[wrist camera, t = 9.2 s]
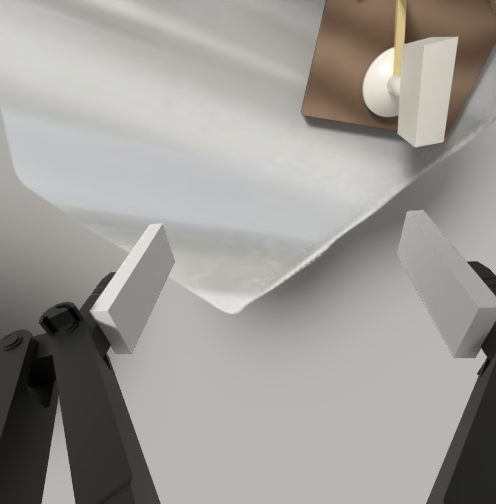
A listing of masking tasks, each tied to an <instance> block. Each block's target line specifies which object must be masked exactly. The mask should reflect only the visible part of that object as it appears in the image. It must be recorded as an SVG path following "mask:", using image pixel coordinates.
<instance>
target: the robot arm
mask: <svg viewBox="0 0 496 504" xmlns="http://www.w3.org/2000/svg"><path fill="white" fill-rule="evenodd" d="M397 255H398V257H399V259H400V261H401V263H402V264H403V266H404V268H405V270H406V272H407V274H408V275H409V277H410V279H411V281H412V283H413V285H414V286H415V288H416V290H417V292H418V294H419V296H420V297H421V299H422V301H423V303H424V305H425V306H426V308H427V310H428V312H429V314H430V316H431V317H432V319H433V321H434V323H435V325H436V327H437V329H438V330H439V332H440V334H441V336H442V338H443V340H444V341H445V343H446V345H447V347H448V349H449V350H450V352H451V354H452V356H453V357H454V358H476V356H477V354H478V353H479V351H480V349H481V348H482V350H483V351H484V353H485V354H486V356H487V359H486V361H485V362H484V364H483V365H482V367H481V368H480V370H479V372H478V373H477V374H478V375H479V376H478V379H477V382H476V384H475V386H474V389H473V391H472V393H471V396H470V399H469V401H468V403H467V406H466V408H465V410H464V413H463V415H462V418H461V420H460V423H459V425H458V428H457V430H456V432H455V435H454V437H453V440H452V442H451V445H450V447H449V450H448V452H447V454H446V457H445V459H444V462H443V464H442V467H441V469H440V471H439V474H438V476H437V479H436V481H435V484H434V486H433V488H432V491H431V493H430V496H429V498H428V501H427V503H426V504H496V276H495V274H494V273H493V272H492V271H491V270H490V269H489V268H487V267H485V266H484V265H482V264H481V263H479V262H477V261H472V262H466V260H465V259H464V258H463V257H462V256H461V254H460V253H459V252H458V251H457V250H456V248H455V247H454V246H453V245H452V244H451V243H450V242H449V240H448V239H447V238H446V237H445V236H444V235H443V233H442V232H441V231H440V229H439V228H438V227H437V226H436V225H435V223H434V222H433V221H432V220H431V219H430V218H429V216H428V215H427V214H426V213H425V212H424V210H418V211H407V214H406V219H405V222H404V226H403V231H402V235H401V239H400V243H399V247H398V252H397ZM174 263H175V260H174V257H173V254H172V251H171V248H170V244H169V241H168V238H167V235H166V232H165V229H164V226H163V223H162V224H150V225H149V226H148V228H147V229H146V231H145V232H144V234H143V235H142V236H141V238H140V239H139V241H138V242H137V244H136V245H135V246H134V248H133V249H132V251H131V252H130V254H129V255H128V257H127V258H126V259H125V261H124V262H123V264H122V265H121V267H120V268H119V270H118V271H117V272H111V273H110V274H108V275H107V276H106V277H105V278H103V279H102V280H101V282H100V283H99V284H98V286H97V287H96V289H95V290H94V291H93V293H92V295H90V296H89V298H88V299H87V301H86V302H85V303H84V305H83V306H82V307H81V309H80V310H78V309H77V308H76V306H75V305H74V303H71V302H63V303H60V304H57V305H55V306H53V307H51V308H49V309H48V310H47V311H46V312H45V313H44V314H43V315H42V316H41V318H40V320H39V324H40V325H41V326H42V327H43V329H44V330H45V331H46V332H47V333H45V334H42V335H38V336H33V335H32V334H31V333H30V332H29V331H28V330H18V331H15V332H13V333H10V334H8V335H7V336H5V337H4V338H2V339H1V340H0V504H41V503H42V496H43V490H44V484H45V478H46V472H47V465H48V459H49V453H50V447H51V440H52V434H53V428H54V422H55V415H56V409H57V403H58V396H59V399H60V406H61V412H62V418H63V425H64V432H65V438H66V445H67V451H68V457H69V464H70V470H71V477H72V484H73V490H74V497H75V503H76V504H160V501H159V498H158V495H157V492H156V489H155V486H154V484H153V481H152V478H151V475H150V473H149V469H148V467H147V464H146V461H145V458H144V455H143V452H142V450H141V447H140V444H139V441H138V438H137V435H136V433H135V430H134V427H133V424H132V421H131V419H130V415H129V413H128V410H127V407H126V404H125V401H124V398H123V396H122V393H121V390H120V387H119V384H118V382H117V378H116V376H115V373H114V370H113V367H112V364H111V362H110V359H109V357H108V355H107V351H108V349H109V348H110V346H111V347H112V349H113V350H114V352H115V354H132V352H133V350H134V348H135V346H136V344H137V342H138V339H139V337H140V335H141V333H142V331H143V329H144V327H145V325H146V322H147V320H148V318H149V316H150V314H151V312H152V310H153V307H154V305H155V303H156V301H157V299H158V297H159V294H160V292H161V290H162V288H163V286H164V284H165V282H166V279H167V277H168V275H169V273H170V271H171V269H172V267H173V265H174Z"/></svg>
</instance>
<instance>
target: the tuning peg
mask: <svg viewBox="0 0 496 504" xmlns="http://www.w3.org/2000/svg"><path fill="white" fill-rule="evenodd" d="M406 4H407V0H396V13H395V37H394V47H392V48H389V49H387V50H385V51H384V52H382V53H381V54H380V55H378V56H377V57H376V58H375V59H374V61H373V62H372V63H371V64H370V66H369V67H368V69H367V71H366V73H365V76H364V79H363V83H362V96H363V100H364V102H365V104H366V106H367V107H368V108H369V109H370V110H371V111H372V112H374V113H375V114H377V115H379V116H383V117H394V116H398V115H399V116H398V134H399V135H400V136H401V137H402V138H404V139H405V140H406V141H407V142H409V143H410V144H411V145H413V146H414V147H420V146H426V145H431V144H436V143H441V142H444V135H445V128H446V121H447V114H448V107H449V100H450V93H451V86H452V79H453V72H454V65H455V57H456V50H457V43H458V37H430V38H426V39H422V40H418V41H415V42H411V43H407V44H404V39H405V22H406Z"/></svg>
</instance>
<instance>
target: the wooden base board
mask: <svg viewBox="0 0 496 504" xmlns="http://www.w3.org/2000/svg"><path fill="white" fill-rule="evenodd" d="M395 13H396V0H326V2H325V7H324V11H323V16H322V20H321V24H320V29H319V33H318V38H317V42H316V47H315V51H314V56H313V60H312V65H311V69H310V74H309V78H308V83H307V87H306V91H305V96H304V100H303V105H302V109H301V114H302V115H305V116H311V117H317V118H323V119H329V120H335V121H341V122H347V123H354V124H360V125H366V126H372V127H378V128H384V129H390V130H396V131H398V116H399V115H398V116H394V117H383V116H379V115H377V114H375V113H374V112H372V111H371V110H370V109H369V108H368V107H367V106H366V104H365V102H364V100H363V96H362V83H363V79H364V76H365V73H366V71H367V69H368V67H369V66H370V64H371V63H372V62H373V61H374V59H375V58H376V57H377V56H378V55H380V54H381V53H382V52H384V51H385V50H387V49H389V48H392V47H394V37H395ZM430 37H458V43H457V50H456V57H455V65H454V72H453V79H452V86H451V93H450V100H449V107H448V114H447V121H446V128H445V135H444V139H446V137H447V135H448V133H449V131H450V129H451V127H452V125H453V123H454V121H455V119H456V118H457V116H458V114H459V112H460V110H461V108H462V106H463V104H464V102H465V100H466V99H467V97H468V95H469V93H470V91H471V89H472V87H473V85H474V83H475V81H476V79H477V78H478V76H479V74H480V72H481V70H482V68H483V66H484V64H485V62H486V60H487V59H488V57H489V55H490V53H491V51H492V49H493V47H494V45H495V43H496V0H407V4H406V22H405V39H404V44H407V43H411V42H415V41H418V40H422V39H426V38H430Z"/></svg>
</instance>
